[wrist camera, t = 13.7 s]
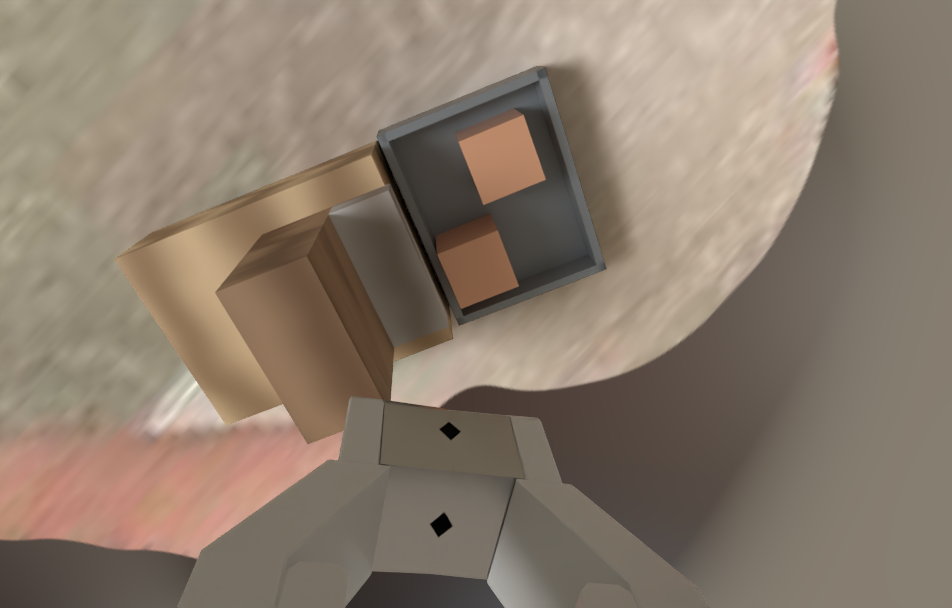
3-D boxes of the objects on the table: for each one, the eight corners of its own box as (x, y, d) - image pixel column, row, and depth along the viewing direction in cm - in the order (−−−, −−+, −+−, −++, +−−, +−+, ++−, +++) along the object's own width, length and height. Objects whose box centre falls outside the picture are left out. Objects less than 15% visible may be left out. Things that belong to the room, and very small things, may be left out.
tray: (456, 310, 49) (459, 325, 46) (379, 130, 43) (376, 136, 40) (595, 256, 48) (606, 269, 46) (536, 66, 42) (545, 67, 39)
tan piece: (247, 383, 50) (226, 425, 44) (151, 232, 44) (114, 259, 39) (448, 305, 49) (452, 338, 43) (376, 141, 43) (371, 155, 38)
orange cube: (545, 179, 40) (533, 167, 45) (523, 114, 39) (513, 108, 43) (483, 205, 41) (477, 190, 45) (458, 141, 39) (454, 132, 43)
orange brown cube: (461, 308, 44) (519, 286, 43) (437, 254, 42) (497, 230, 41) (457, 286, 48) (510, 265, 47) (435, 235, 46) (490, 213, 46)
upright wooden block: (330, 359, 43) (307, 444, 34) (261, 234, 39) (214, 292, 30) (447, 314, 43) (456, 388, 33) (389, 183, 39) (381, 226, 29)
